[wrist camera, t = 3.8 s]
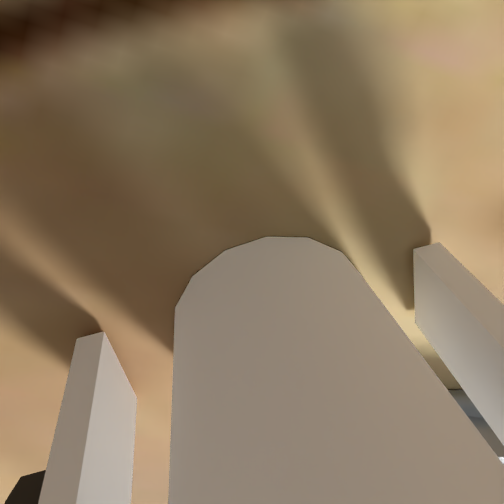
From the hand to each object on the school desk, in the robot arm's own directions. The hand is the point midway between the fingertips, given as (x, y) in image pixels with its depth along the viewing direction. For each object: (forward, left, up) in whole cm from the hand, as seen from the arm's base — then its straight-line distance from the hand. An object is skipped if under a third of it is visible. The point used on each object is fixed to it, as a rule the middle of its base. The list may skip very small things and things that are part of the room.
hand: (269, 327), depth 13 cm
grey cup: (0, 0, 0) cm, 0 cm away
